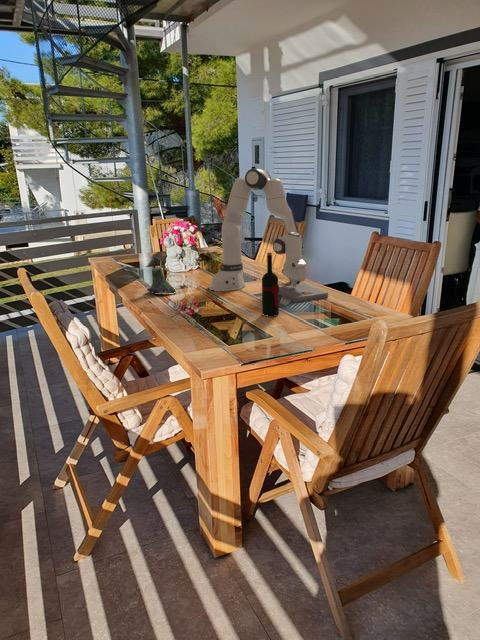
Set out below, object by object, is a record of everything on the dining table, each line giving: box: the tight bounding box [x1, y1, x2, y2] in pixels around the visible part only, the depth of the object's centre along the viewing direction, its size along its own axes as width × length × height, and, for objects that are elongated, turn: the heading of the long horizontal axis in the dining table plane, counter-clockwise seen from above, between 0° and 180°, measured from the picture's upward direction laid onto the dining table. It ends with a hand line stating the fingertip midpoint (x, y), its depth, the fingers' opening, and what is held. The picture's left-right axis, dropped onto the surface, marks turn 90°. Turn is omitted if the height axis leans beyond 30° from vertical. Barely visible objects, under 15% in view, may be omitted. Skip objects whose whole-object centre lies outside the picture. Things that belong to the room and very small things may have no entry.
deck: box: [278, 283, 329, 303], centre depth 265 cm, size 20×25×2 cm
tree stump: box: [146, 266, 176, 293], centre depth 280 cm, size 18×20×18 cm
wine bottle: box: [261, 252, 280, 317], centre depth 227 cm, size 8×10×30 cm
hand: (293, 286), depth 270 cm, fingers closed
